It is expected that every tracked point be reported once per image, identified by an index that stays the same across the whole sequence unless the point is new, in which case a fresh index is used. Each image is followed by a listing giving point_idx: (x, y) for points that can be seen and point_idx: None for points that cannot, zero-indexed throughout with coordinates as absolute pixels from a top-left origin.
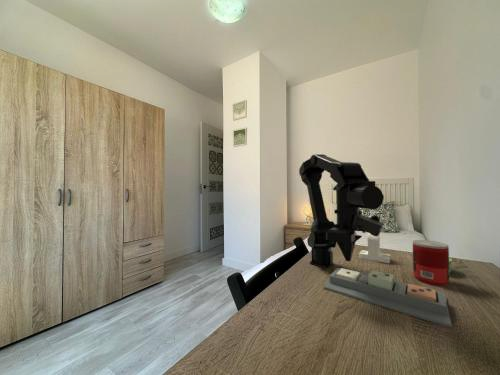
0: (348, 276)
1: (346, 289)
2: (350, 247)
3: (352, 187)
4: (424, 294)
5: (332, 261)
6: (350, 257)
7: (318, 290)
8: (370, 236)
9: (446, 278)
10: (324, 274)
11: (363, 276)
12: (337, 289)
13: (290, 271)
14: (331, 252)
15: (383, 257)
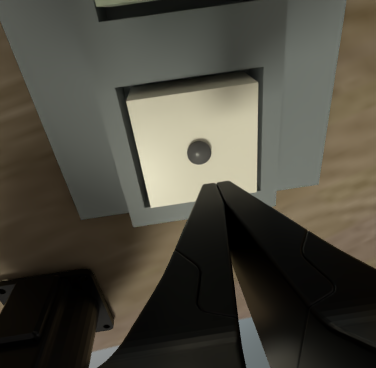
0: (257, 126)
1: (289, 98)
2: (362, 275)
3: None
4: None
5: (22, 286)
6: (250, 194)
7: (344, 183)
8: None
9: None
10: (169, 241)
11: (140, 65)
12: (314, 130)
13: (242, 316)
14: (8, 339)
15: None
